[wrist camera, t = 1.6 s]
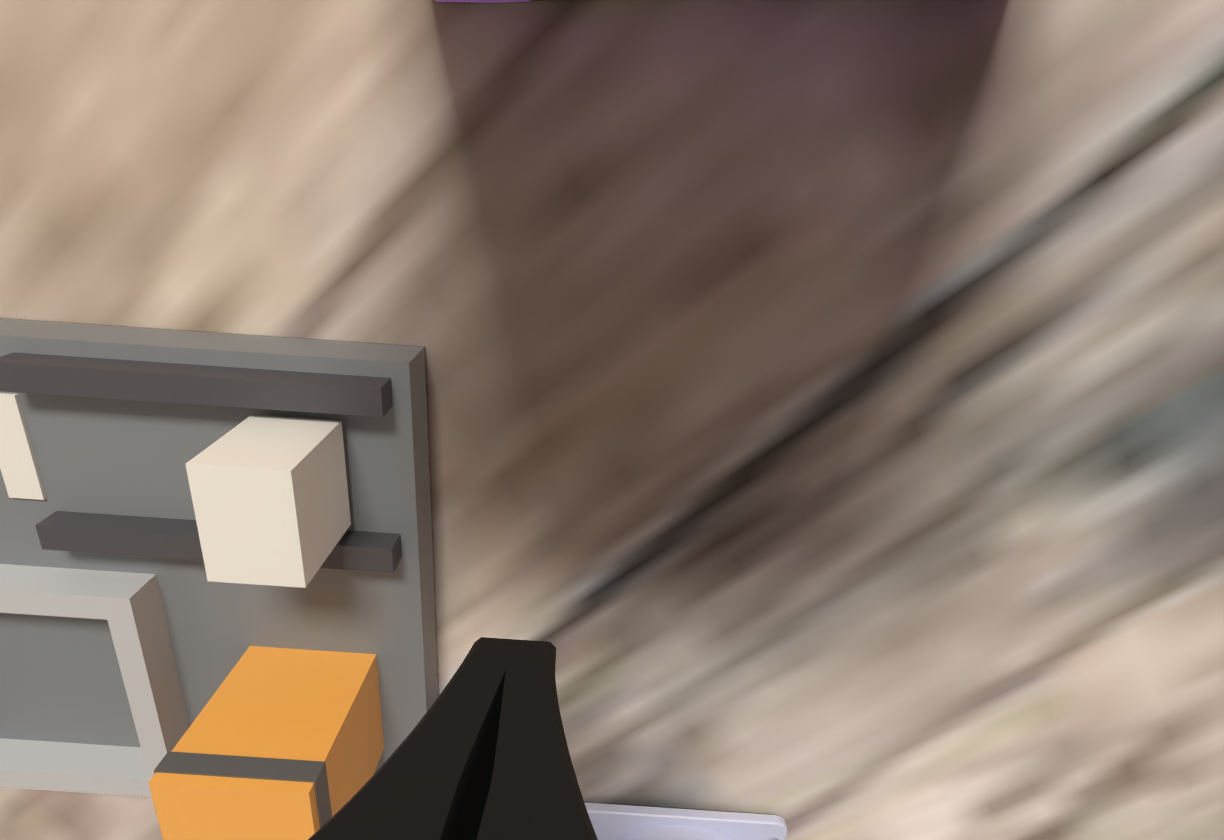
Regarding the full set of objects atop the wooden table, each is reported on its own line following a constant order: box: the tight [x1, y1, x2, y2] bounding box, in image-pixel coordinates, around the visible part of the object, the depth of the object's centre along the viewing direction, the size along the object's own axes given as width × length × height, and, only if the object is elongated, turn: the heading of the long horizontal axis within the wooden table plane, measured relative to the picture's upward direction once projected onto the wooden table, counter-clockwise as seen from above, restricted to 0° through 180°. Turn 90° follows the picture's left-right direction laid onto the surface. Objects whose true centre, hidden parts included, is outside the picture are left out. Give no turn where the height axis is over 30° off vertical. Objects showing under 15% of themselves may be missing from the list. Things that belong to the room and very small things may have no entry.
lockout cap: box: [148, 646, 384, 840], centre depth 20 cm, size 4×4×5 cm
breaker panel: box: [0, 318, 439, 797], centre depth 21 cm, size 16×18×3 cm
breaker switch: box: [185, 415, 351, 588], centre depth 18 cm, size 3×2×3 cm
